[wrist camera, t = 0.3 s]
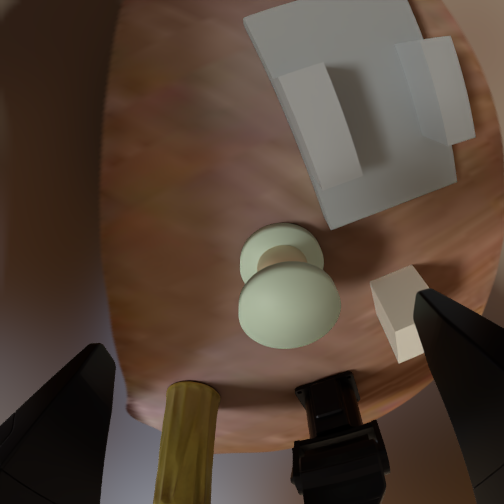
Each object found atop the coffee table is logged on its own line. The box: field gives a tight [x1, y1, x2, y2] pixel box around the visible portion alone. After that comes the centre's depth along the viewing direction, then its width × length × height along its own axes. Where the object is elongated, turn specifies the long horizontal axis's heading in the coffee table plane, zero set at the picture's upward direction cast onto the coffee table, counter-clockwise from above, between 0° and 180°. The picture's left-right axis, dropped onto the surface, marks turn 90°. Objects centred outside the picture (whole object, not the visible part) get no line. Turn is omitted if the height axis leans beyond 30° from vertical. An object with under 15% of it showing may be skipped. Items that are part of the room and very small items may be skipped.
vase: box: [153, 381, 221, 504], centre depth 26 cm, size 6×6×14 cm
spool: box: [239, 223, 341, 349], centre depth 20 cm, size 6×6×6 cm
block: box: [370, 265, 429, 363], centre depth 22 cm, size 4×4×6 cm
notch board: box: [243, 0, 476, 230], centre depth 15 cm, size 14×10×5 cm
